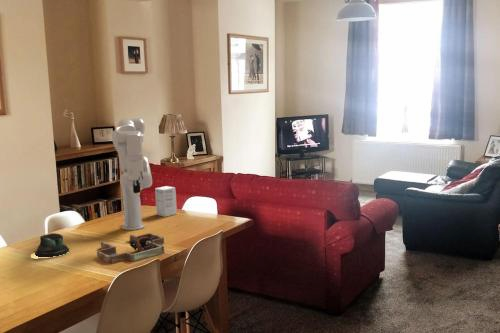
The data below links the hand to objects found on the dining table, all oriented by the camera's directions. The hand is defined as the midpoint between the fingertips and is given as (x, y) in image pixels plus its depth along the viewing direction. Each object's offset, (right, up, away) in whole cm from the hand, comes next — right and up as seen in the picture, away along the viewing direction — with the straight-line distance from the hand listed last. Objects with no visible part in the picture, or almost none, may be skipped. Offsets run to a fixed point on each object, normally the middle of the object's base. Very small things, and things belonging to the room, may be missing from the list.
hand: (136, 192), depth 267 cm
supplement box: (+6, -17, +56) cm, 58 cm away
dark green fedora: (-38, -29, -15) cm, 50 cm away
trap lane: (+1, -27, -13) cm, 31 cm away
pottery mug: (+6, -28, -16) cm, 33 cm away
